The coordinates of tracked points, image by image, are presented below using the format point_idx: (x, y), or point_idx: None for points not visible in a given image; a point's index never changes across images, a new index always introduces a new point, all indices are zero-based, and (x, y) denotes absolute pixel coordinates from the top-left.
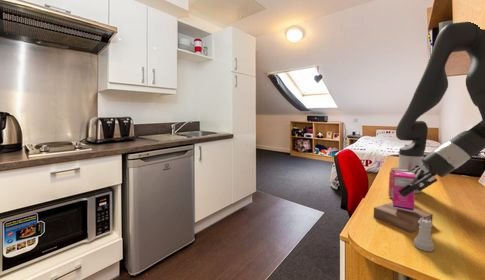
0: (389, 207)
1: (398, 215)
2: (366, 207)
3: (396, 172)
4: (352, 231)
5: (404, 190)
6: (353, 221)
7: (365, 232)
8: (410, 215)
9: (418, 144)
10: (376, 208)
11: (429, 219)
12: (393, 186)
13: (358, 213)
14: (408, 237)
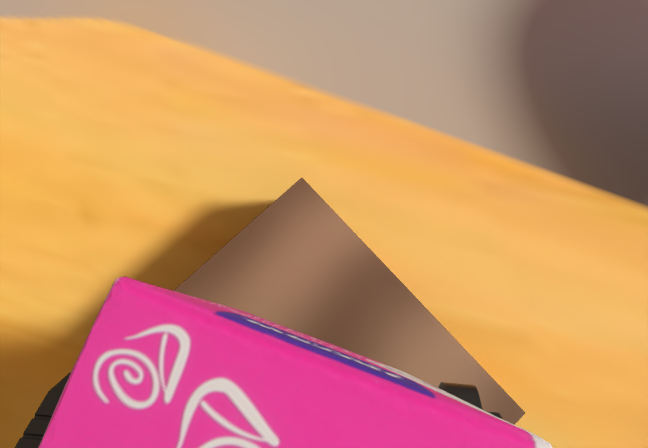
0: (342, 311)
1: None
2: (484, 186)
3: (363, 418)
4: (40, 25)
5: (45, 414)
6: (189, 52)
7: (43, 97)
8: None
9: None
10: (285, 193)
11: None
12: (202, 299)
13: (339, 105)
14: (28, 346)
